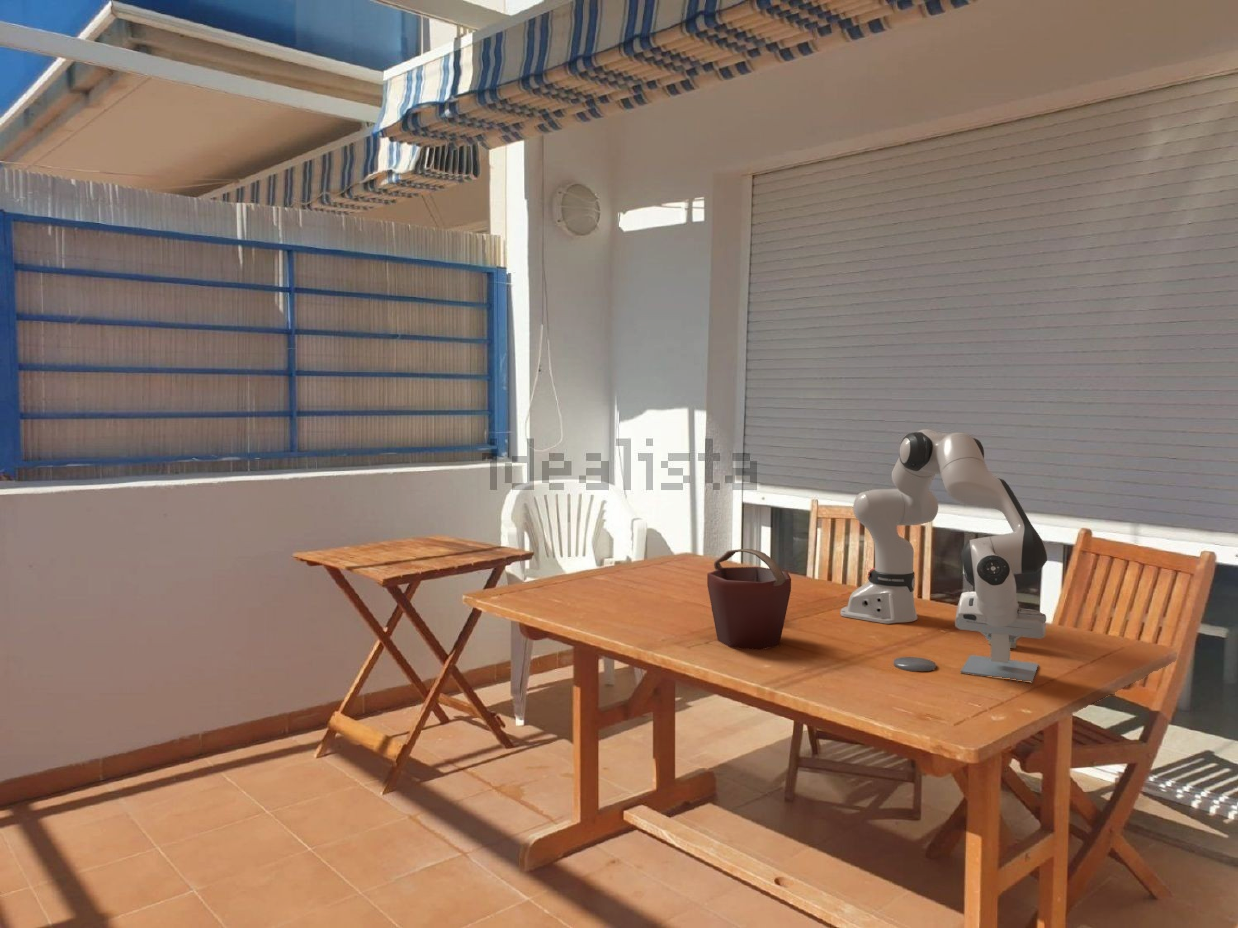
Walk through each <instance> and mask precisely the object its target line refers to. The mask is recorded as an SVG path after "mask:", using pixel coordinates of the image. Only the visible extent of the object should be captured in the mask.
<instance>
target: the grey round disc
mask: <svg viewBox="0 0 1238 928" xmlns="http://www.w3.org/2000/svg"><path fill="white" fill-rule="evenodd" d="M893 666H894V667H896V668H897V667H898V669H899V670H904V671H909V672H914V671H928V672H932V671H931V670H933V669H935V668H936V669H937V664H936V662H934V661H933V660H930V659H927V658H924V657H917V656H902V657H897V658H894V660H893ZM933 671H934V670H933Z"/></svg>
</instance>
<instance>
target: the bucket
mask: <svg viewBox="0 0 1238 928" xmlns="http://www.w3.org/2000/svg"><path fill="white" fill-rule="evenodd" d="M741 552H742V553H747V554H751V555H754V556H755V557H757V558H759V560H761V561H762V562H763V563H764V564H765V565H766V566H767V567H763V566H739V567H737V566H735V567H733V566H730V567H727V566H726V567H725V566H724V567H723V566H722V565H721V563H723V562H726V561H728V560H729V559H730V558H732V557H733V556H734V555H735V554H736V553H741ZM713 566H714V567H713V568H714V569H715V570H713V571H711V572H708V573H707V575H706V576H707V578H706V579H707V582H706V585H707V591H708V595H709V600H710V602H709V603H710V606H711V613H712V617H713V622H714V628H715V633H716V639H717V641H718V642H719V643H721V644H723V645H724V646H727V647H729V648H732V649H740V648H741V650H752V651H753V650H754V651H761V650H766V649H771V648H775V647H780V644H781V641H782V640H781V639H782V635H783V630H784V627H785V626H784V625H785V620H786V615H787V611H788V606H789V600H790V597H791V591H792V578H791V576H790V573H789V571H786V570H782V569H781V567H780V566H779V564H778V563H777V562H775V560H774V559H772V558H771V557H770V556H769V555H768V554H766V553H765V552H762V551H759V550H757V549H752V548H740V549H730V550H727V551H726V552H724V554H722V555H721V556H720V557H719V558H717V559H716V560H715V561H714V563H713ZM765 648H766V649H765Z"/></svg>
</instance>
